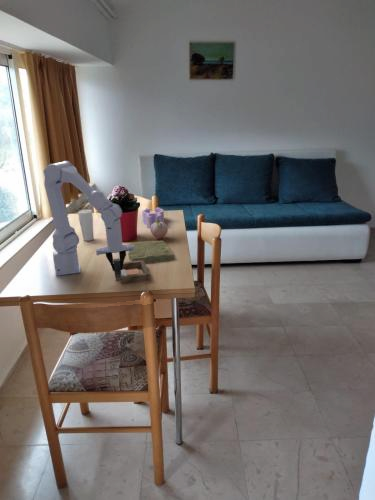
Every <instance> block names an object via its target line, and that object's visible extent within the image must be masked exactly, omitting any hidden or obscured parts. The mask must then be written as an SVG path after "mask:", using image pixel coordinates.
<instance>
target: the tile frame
mask: <svg viewBox="0 0 375 500" xmlns="http://www.w3.org/2000/svg"><path fill="white" fill-rule="evenodd" d="M146 264H147V263H145V262H144V260H140V261H132V262H131V261H124V262H123V268H122V269H125V270H131V269H138V268H139V269H141V270H142V273H140V274H135V275H128V276H120V278H121V280H120V284H121V285H122V284H131V283H138V282H139V283H140V282H146V281H151V277H150V275H151V274H150V271H149V270H148V267H147V265H146Z"/></svg>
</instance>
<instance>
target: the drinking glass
mask: <svg viewBox="0 0 375 500" xmlns="http://www.w3.org/2000/svg"><path fill="white" fill-rule="evenodd" d="M77 215H78V221H79V226H80V230H81V235H82V239H83V241H85V242H90V241H93V240H94V239H95V236H94V217H93V216H94V215H93V211H92V209H82V210H78V212H77Z"/></svg>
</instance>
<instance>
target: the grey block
mask: <svg viewBox="0 0 375 500" xmlns="http://www.w3.org/2000/svg"><path fill="white" fill-rule="evenodd" d="M113 264H114V269H115V270H114V271H113V274H114V278H115V281H121V278H120V276H127V274H126V270H127V269H122V270H121V268H120V258H113Z"/></svg>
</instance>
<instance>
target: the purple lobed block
mask: <svg viewBox="0 0 375 500" xmlns="http://www.w3.org/2000/svg"><path fill="white" fill-rule="evenodd" d="M141 214H142V215H141V216H142V224H143V223H144V224H143V225H146V228H147V229H150V227H151V225H152V224H153V223H154V222H155V221H158V220H159V221H160V222H164V223H165V211H164V209H163V208H161V207H156V208H155V210H154V212H151V208H149V207H147V208H145V209H142V211H141Z"/></svg>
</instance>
